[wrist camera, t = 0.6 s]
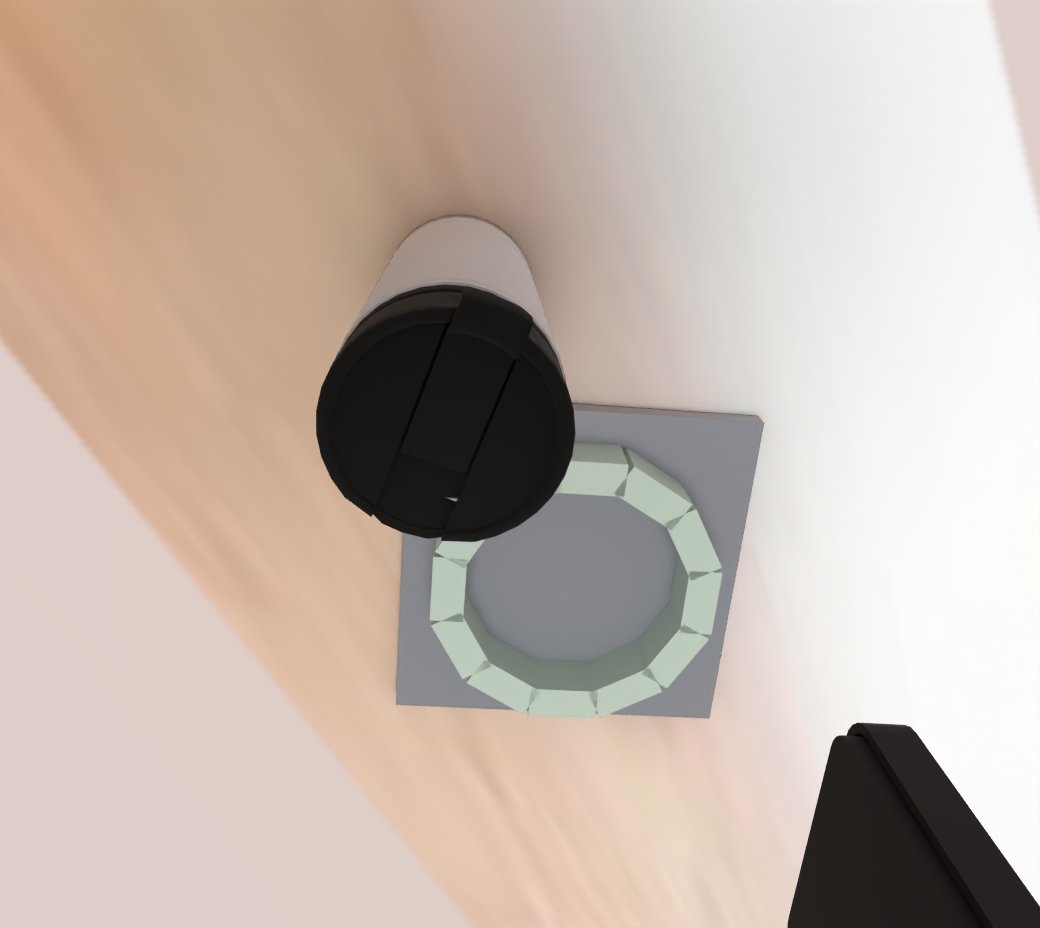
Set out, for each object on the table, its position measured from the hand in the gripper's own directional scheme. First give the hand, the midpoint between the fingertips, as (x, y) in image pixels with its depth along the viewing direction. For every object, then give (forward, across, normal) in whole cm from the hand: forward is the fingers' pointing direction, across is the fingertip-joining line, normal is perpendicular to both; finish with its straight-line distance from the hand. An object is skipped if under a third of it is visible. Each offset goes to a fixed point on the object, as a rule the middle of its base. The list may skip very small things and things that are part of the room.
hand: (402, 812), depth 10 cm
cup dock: (+32, -6, +13) cm, 35 cm away
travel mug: (+32, 0, 0) cm, 32 cm away
